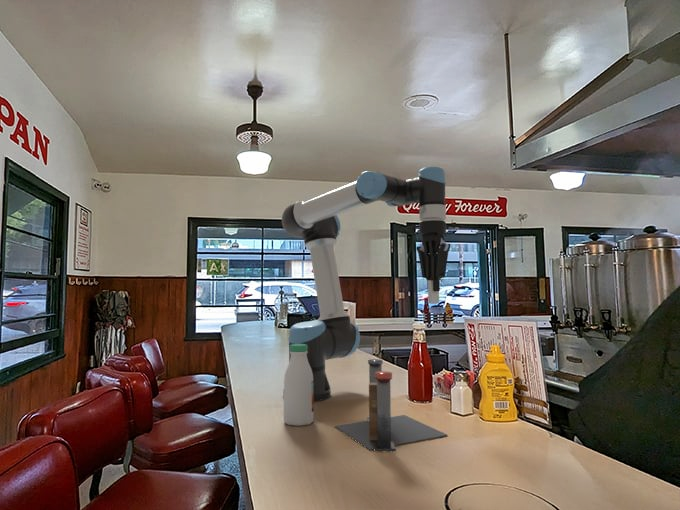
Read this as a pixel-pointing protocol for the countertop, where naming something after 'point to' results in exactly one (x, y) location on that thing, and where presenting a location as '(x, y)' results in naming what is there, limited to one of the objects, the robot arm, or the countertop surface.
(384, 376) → the post
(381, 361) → the hinge post
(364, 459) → the countertop surface
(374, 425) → the gate
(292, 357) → the milk bottle
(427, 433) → the bar mat
